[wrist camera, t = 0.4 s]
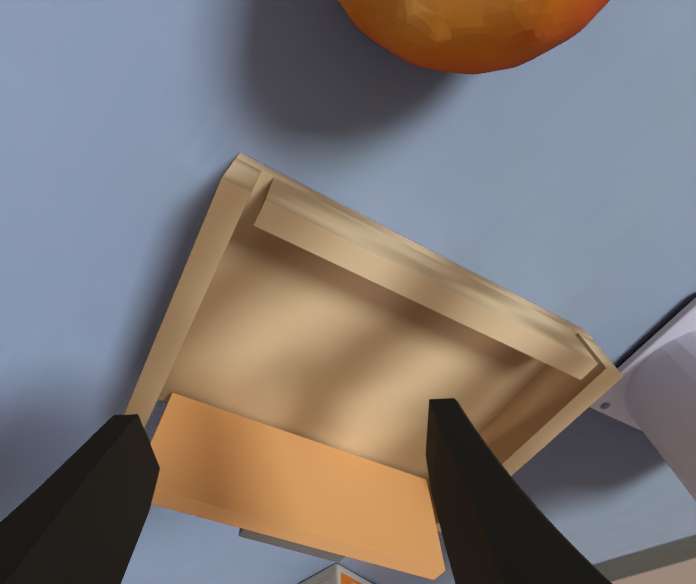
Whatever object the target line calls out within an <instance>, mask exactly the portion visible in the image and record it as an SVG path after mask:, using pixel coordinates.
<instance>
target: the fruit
mask: <svg viewBox="0 0 696 584" xmlns="http://www.w3.org/2000/svg"><path fill="white" fill-rule="evenodd" d="M337 1H338V2H339V3H340V4H341V5H342V7H343V8H344V10H345V11H346V13H347V14H348V16H349V17H350V19H351V20H352V22H353V23H354V24H355V26H356V27H357V28H358V29H359V30H360V31H361V32H362V33H363V34H365V35H366V36H367V37H368V38H370V39H371V40H372V41H374V42H375V43H377V44H378V45H380V46H382V47H383V48H385V49H386V50H388V51H390V52H391V53H393V54H394V55H396V56H398V57H399V58H401V59H403V60H405V61H406V62H408V63H410V64H412V65H415V66H418V67H423V68H427V69H432V70H438V71H444V72H453V73H462V74H480V73H487V72H492V71H498V70H503V69H509V68H513V67H516V66H519V65H521V64H524V63H526V62H528V61H530V60H532V59H534V58H536V57H538V56H540V55H542V54H543V53H545V52H547V51H549V50H551V49H553V48H554V47H556V46H558V45H559V44H561V43H563V42H565V41H567V40H568V39H570V38H571V37H573V36H574V35H576V34H577V33H578V32H580V31H581V30H582V29H583V28H584V27H585V26H586V25H587V24H588V23H589V22H590V21H591V20H592V19H593V18H594V17H595V16H596V15H597V14H598V12H599V11H600V10H601V9H602V8H603V7H604V6H605V5H606V4H607V3H608V2H609V1H610V0H337Z"/></svg>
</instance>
